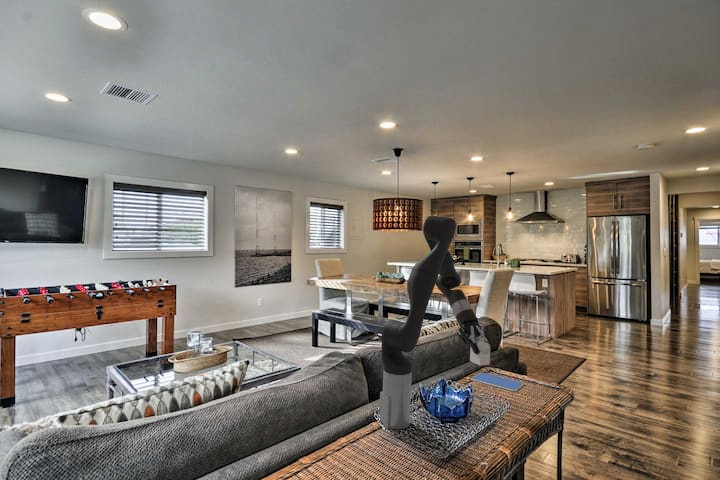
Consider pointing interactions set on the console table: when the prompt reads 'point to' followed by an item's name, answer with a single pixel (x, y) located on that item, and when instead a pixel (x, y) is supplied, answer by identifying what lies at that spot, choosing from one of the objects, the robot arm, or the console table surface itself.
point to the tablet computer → (498, 382)
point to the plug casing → (481, 352)
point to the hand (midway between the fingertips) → (483, 352)
